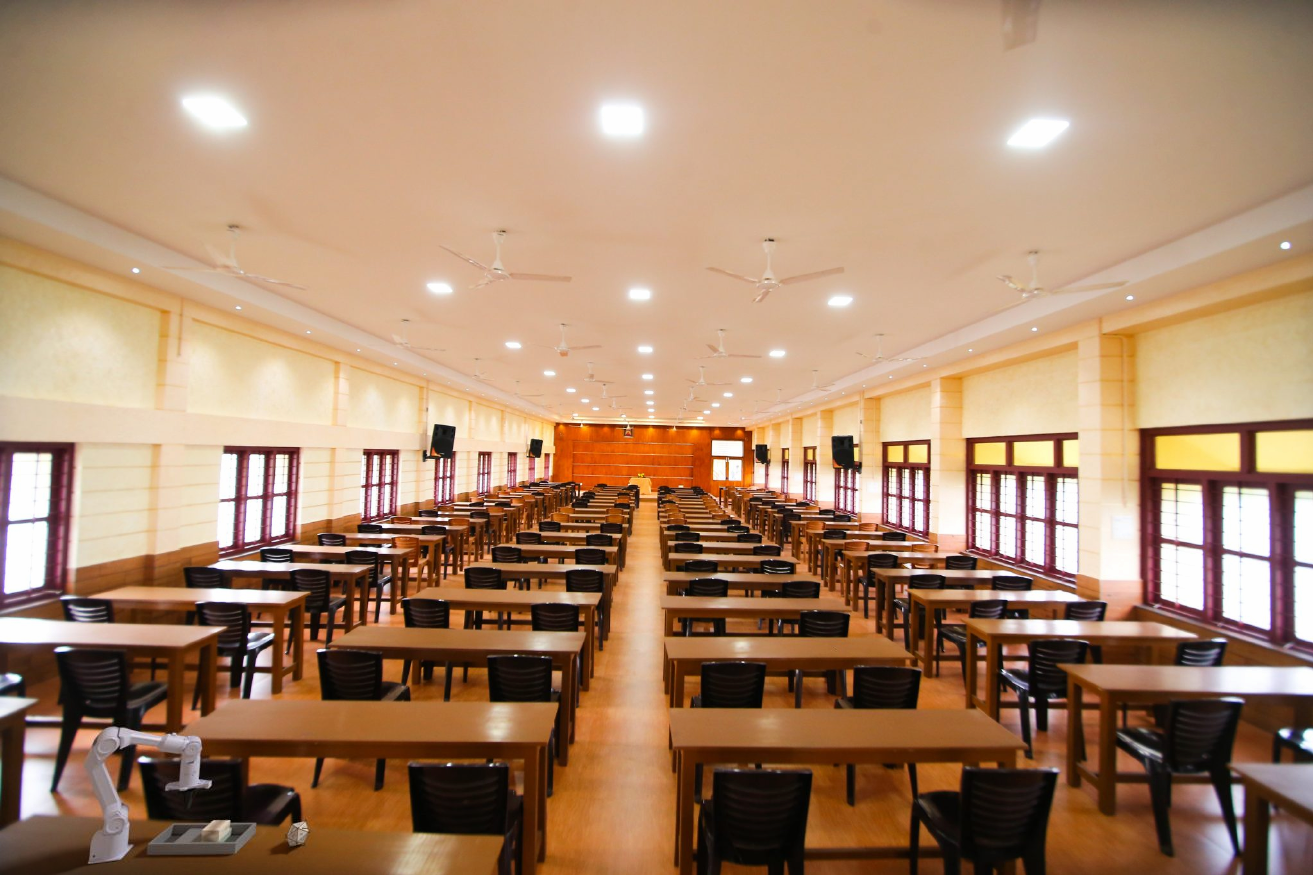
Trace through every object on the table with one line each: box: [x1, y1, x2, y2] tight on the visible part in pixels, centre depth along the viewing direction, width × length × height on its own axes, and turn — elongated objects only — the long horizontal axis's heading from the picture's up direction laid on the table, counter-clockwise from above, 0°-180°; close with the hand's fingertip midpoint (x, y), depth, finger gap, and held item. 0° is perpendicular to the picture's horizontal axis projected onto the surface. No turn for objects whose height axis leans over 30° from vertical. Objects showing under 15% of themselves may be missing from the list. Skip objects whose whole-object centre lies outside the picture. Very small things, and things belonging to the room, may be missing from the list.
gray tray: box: [146, 822, 257, 856], centre depth 212 cm, size 30×12×4 cm, turn 94°
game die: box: [284, 818, 312, 850], centre depth 214 cm, size 9×8×10 cm
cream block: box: [201, 819, 231, 842], centre depth 213 cm, size 6×6×4 cm
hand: (186, 807), depth 218 cm, fingers closed
